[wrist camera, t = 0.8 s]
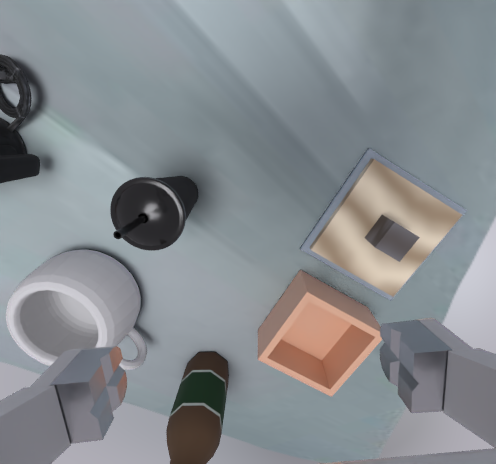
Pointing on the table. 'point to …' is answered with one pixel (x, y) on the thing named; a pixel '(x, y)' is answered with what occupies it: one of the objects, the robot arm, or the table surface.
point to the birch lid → (384, 228)
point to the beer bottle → (198, 410)
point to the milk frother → (4, 134)
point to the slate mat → (344, 190)
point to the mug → (75, 307)
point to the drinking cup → (152, 210)
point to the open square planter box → (317, 334)
